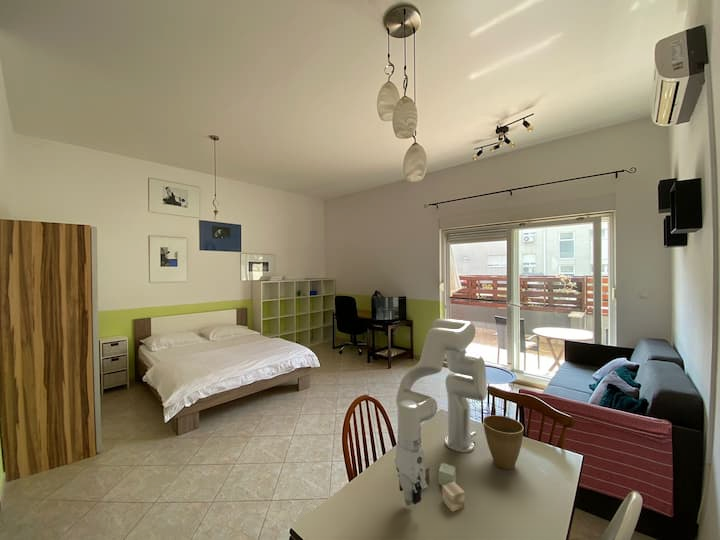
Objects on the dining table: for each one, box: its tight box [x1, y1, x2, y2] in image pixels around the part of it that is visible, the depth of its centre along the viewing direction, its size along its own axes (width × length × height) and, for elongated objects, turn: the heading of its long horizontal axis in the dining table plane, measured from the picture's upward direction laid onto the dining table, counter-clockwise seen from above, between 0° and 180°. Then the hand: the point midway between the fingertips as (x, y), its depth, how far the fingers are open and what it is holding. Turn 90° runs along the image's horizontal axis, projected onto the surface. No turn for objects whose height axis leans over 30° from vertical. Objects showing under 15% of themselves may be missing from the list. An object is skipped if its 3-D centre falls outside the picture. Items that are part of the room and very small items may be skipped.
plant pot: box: [482, 414, 525, 470], centre depth 117 cm, size 15×15×16 cm
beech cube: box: [441, 481, 466, 512], centre depth 96 cm, size 5×5×5 cm
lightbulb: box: [400, 473, 418, 506], centre depth 94 cm, size 6×6×11 cm
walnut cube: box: [425, 464, 430, 483], centre depth 107 cm, size 5×5×5 cm
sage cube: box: [438, 462, 457, 486], centre depth 106 cm, size 5×5×5 cm
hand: (410, 494), depth 95 cm, fingers closed on lightbulb, 5 cm apart
